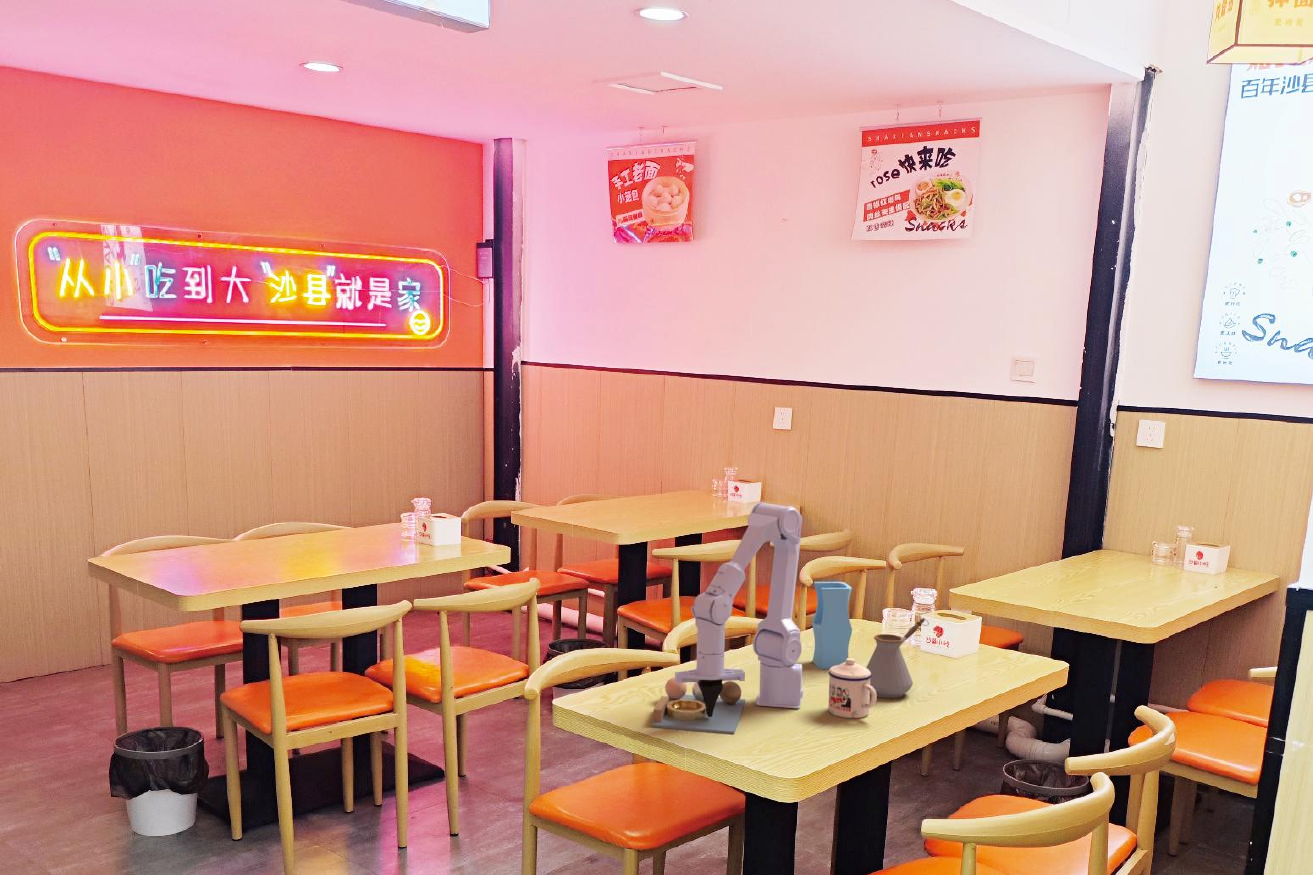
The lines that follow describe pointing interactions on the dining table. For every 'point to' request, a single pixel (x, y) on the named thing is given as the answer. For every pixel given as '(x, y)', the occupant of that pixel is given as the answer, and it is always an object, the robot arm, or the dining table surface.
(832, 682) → the teacup with lid
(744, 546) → the robot arm
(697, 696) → the silver steel ball
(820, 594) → the vase
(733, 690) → the walnut ball
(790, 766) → the dining table surface
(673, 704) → the tan round shallow dish
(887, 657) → the coffee pot
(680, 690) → the terracotta ball
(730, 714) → the slate mat
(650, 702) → the dining table surface
